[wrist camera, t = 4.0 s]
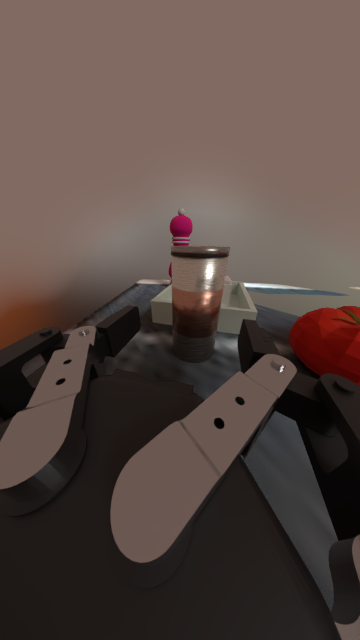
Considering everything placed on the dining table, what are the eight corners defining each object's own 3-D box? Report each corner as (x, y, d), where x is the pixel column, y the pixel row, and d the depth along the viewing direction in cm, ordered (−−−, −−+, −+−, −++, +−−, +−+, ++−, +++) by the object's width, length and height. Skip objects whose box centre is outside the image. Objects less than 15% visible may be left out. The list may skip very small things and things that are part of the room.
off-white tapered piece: (227, 295, 36) (231, 276, 34) (228, 304, 31) (232, 282, 29) (187, 291, 38) (188, 273, 36) (182, 299, 33) (183, 278, 31)
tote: (238, 297, 38) (242, 281, 36) (250, 336, 22) (257, 312, 20) (178, 292, 41) (178, 277, 39) (152, 322, 26) (150, 300, 24)
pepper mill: (196, 288, 45) (201, 207, 36) (175, 291, 42) (174, 203, 33) (184, 282, 51) (186, 211, 41) (165, 285, 48) (162, 208, 38)
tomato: (268, 346, 20) (284, 301, 17) (333, 338, 22) (358, 297, 19) (353, 422, 12) (416, 361, 9) (447, 400, 13) (528, 342, 10)
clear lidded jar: (214, 339, 21) (228, 246, 16) (212, 366, 17) (231, 248, 11) (178, 333, 22) (179, 245, 17) (166, 358, 18) (162, 247, 12)
